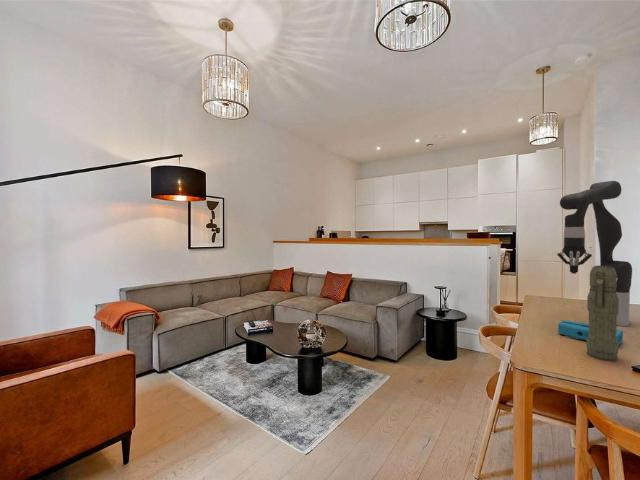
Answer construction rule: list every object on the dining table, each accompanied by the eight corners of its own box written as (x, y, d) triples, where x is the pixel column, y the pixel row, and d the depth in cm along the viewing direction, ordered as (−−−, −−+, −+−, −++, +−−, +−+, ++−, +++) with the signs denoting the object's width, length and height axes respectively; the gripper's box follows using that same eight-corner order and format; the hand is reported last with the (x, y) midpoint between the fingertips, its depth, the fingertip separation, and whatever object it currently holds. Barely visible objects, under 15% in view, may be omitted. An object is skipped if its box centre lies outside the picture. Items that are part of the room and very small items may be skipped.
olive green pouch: (585, 357, 114) (586, 266, 113) (587, 348, 122) (588, 264, 121) (617, 364, 107) (619, 268, 107) (618, 355, 116) (619, 265, 115)
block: (557, 334, 138) (617, 347, 122) (557, 323, 138) (617, 335, 122) (564, 329, 145) (622, 341, 129) (565, 319, 145) (622, 329, 129)
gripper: (591, 236, 139) (590, 273, 139) (555, 236, 146) (554, 271, 146) (594, 236, 132) (594, 275, 133) (557, 236, 140) (556, 273, 140)
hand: (573, 273), depth 139 cm, fingers closed
